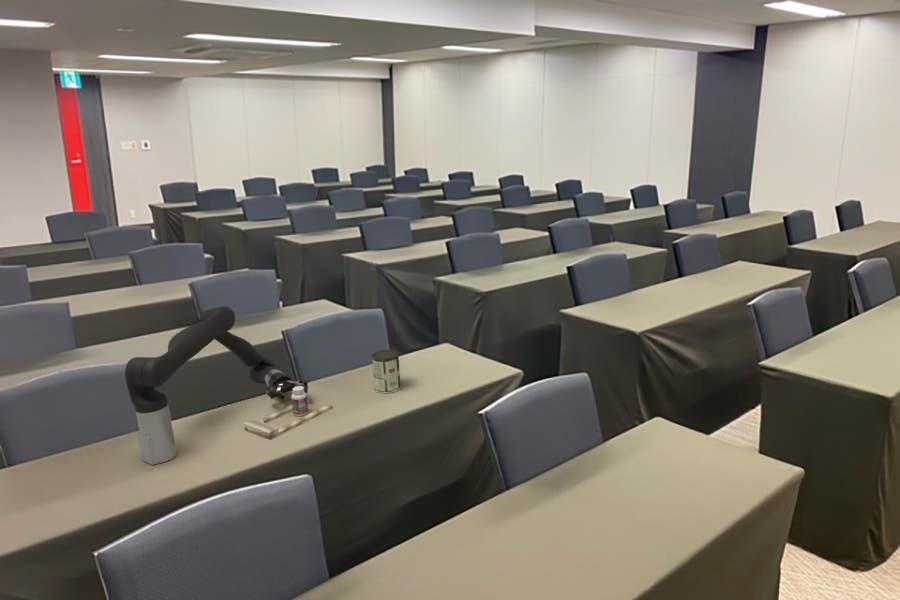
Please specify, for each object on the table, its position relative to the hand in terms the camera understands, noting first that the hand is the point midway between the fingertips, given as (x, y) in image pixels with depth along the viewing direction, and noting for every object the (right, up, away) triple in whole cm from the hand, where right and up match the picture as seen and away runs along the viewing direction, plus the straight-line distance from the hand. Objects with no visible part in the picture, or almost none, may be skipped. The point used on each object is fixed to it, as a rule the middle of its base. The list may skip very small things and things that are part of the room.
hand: (295, 394), depth 227 cm
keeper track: (-1, -8, -5) cm, 9 cm away
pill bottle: (+2, -7, -1) cm, 7 cm away
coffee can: (+32, -1, +17) cm, 36 cm away
